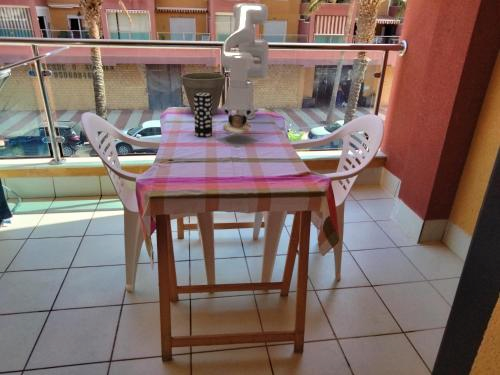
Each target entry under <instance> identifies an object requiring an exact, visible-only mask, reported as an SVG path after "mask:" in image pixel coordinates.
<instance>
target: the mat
mask: <svg viewBox="0 0 500 375" xmlns="http://www.w3.org/2000/svg"><path fill="white" fill-rule="evenodd" d="M214 140H215V141H218V142H220V143H223V144H226V145H227V146H228V145H229V146H231V147H233V148H239V147H244V146H247V145H250V144H253V143H256V142H260V140H258V139H256V138H253V137H250V136H248V135H244V134H242V133H232V134H230V135H227V136H222V137H217V138H214Z"/></svg>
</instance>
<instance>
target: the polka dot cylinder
mask: <svg viewBox="0 0 500 375" xmlns="http://www.w3.org/2000/svg"><path fill="white" fill-rule="evenodd" d="M193 115H194V136H195V137H196V138H201V139H202V138H210V137H212V136H213V115H212V94H210V93H195V94H194V114H193Z"/></svg>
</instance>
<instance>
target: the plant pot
mask: <svg viewBox="0 0 500 375" xmlns="http://www.w3.org/2000/svg"><path fill="white" fill-rule="evenodd" d="M180 77H181V78H180V79H181V85H182V86H183V89H184V92H185V95H186V99H187V101H188V104H189V108H190V112H191V113H192V115H194V94H195V93H210V94H212V116H214V115H216V114H217V113H218V109H219V107H220V106H219V105H220V102H221V97H222V95H223V89H224V86H225V85H226V75H225V74H222V73H217V72H216V73H215V72H189V73H184V74H181V75H180Z"/></svg>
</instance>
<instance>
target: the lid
mask: <svg viewBox="0 0 500 375" xmlns="http://www.w3.org/2000/svg"><path fill="white" fill-rule="evenodd" d="M231 115H232V121H231V125H230V122H227V123H225V124H223V126H222V127H223V128H222V129H223V131H225V132H227V133H231V134H236V133H238V134H245V133H249V132H251V131H252V125H251V124H250V123H248V122H246V123H245V125H243V120H244V116H242V115H239V114H236V115H234V114H231Z"/></svg>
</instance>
